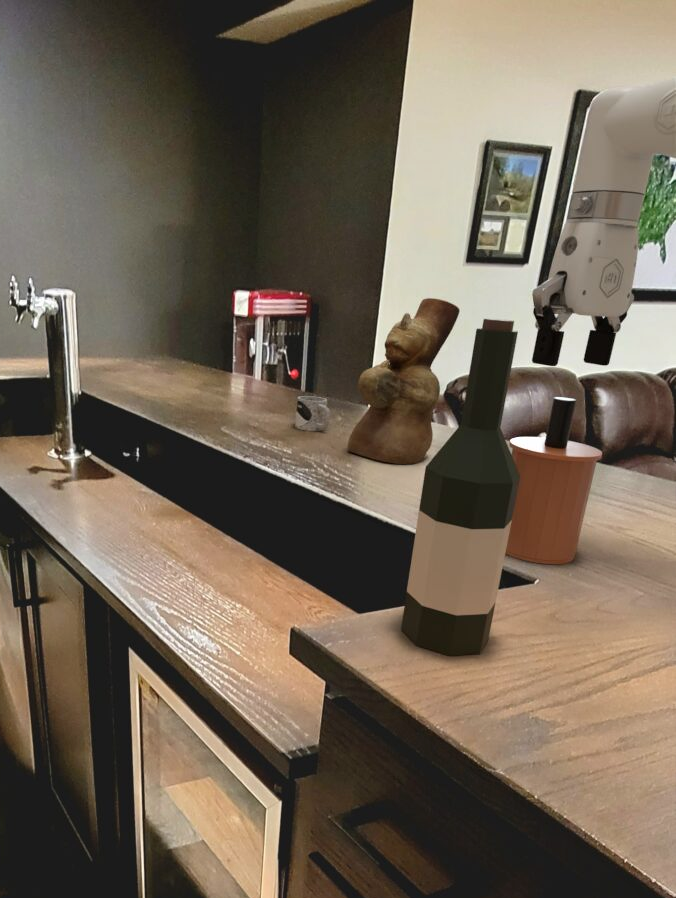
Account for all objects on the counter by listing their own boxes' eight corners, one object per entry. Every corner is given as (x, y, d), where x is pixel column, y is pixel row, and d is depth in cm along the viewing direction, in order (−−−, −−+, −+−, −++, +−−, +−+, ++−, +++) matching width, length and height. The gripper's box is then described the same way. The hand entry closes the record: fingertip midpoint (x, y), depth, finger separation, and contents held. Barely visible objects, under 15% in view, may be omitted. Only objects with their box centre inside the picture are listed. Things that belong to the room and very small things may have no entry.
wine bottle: (437, 609, 76) (487, 316, 67) (506, 643, 70) (571, 324, 60) (383, 627, 72) (427, 315, 62) (451, 665, 65) (513, 323, 56)
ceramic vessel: (331, 449, 144) (348, 293, 135) (402, 440, 157) (423, 296, 147) (392, 468, 132) (415, 298, 123) (464, 457, 145) (490, 302, 136)
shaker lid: (576, 448, 97) (588, 394, 94) (617, 469, 86) (631, 409, 84) (496, 443, 96) (506, 389, 94) (527, 463, 86) (539, 403, 84)
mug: (289, 425, 165) (292, 396, 163) (313, 424, 168) (316, 395, 166) (314, 434, 157) (317, 404, 155) (339, 433, 160) (342, 403, 158)
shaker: (554, 539, 100) (575, 444, 96) (587, 566, 91) (612, 463, 87) (484, 534, 100) (502, 439, 96) (510, 562, 91) (530, 458, 86)
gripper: (584, 204, 75) (550, 369, 81) (679, 219, 83) (642, 368, 89) (525, 206, 81) (497, 360, 87) (619, 220, 90) (587, 359, 95)
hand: (570, 364), depth 88 cm, fingers open, 9 cm apart
